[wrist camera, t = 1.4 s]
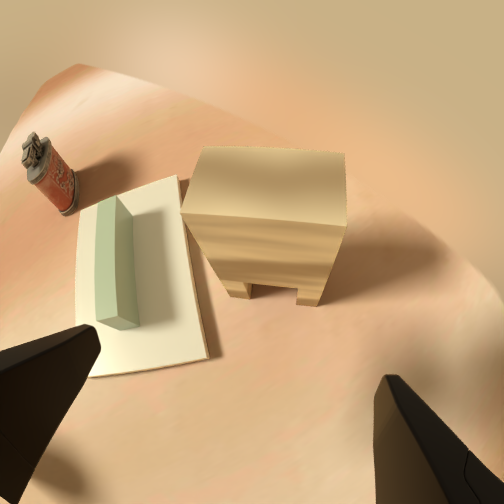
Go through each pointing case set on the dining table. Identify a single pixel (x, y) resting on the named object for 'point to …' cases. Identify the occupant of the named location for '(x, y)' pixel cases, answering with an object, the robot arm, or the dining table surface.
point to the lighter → (50, 174)
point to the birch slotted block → (268, 216)
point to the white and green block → (138, 281)
